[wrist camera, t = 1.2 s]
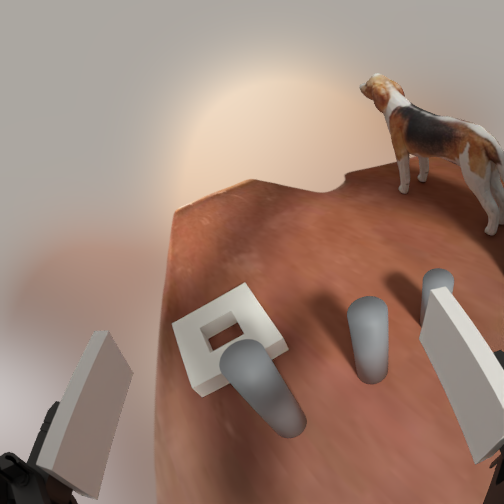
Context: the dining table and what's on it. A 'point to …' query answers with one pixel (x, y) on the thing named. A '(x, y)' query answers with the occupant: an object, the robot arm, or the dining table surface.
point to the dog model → (441, 145)
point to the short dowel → (434, 286)
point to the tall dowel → (262, 386)
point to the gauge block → (213, 322)
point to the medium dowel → (369, 338)
